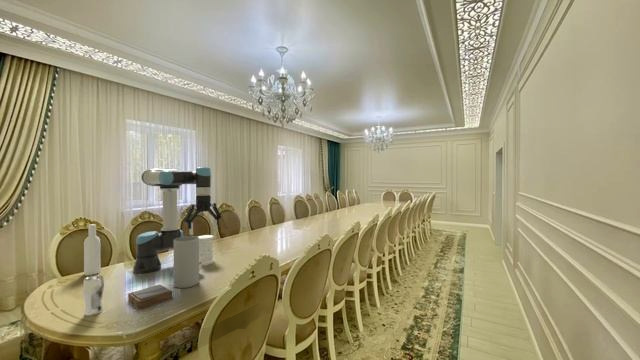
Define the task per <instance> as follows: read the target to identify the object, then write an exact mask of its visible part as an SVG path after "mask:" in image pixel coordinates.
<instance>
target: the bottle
mask: <svg viewBox="0 0 640 360" xmlns="http://www.w3.org/2000/svg"><path fill="white" fill-rule="evenodd" d="M87 229H88V236H87V237H86V238H85V240H83V241H84V242H83V275H84V274H85V275H84V276H94V275H97V273H98V274H100V273H101V269H102V267H101V266H102V265H101V238H100V236H98V235H97V224H93V223H91V224H88V227H87ZM93 274H94V275H93Z"/></svg>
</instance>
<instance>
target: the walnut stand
mask: <svg viewBox="0 0 640 360" xmlns="http://www.w3.org/2000/svg"><path fill="white" fill-rule="evenodd" d="M127 296H128V298H127V300H128V302H129V303H130V304H131V305H132V306H134V308H136V309H137V310H138V311H140V309H141V310H144V309H147V308H149V307H152V306H155V305H157V304H161V303H164V302H167V301H171V300H173V290H170V289H169V288H168V287H165V286H164V285H162V284H157V285H153V286H150V287H146V288H142V289H139V290H136V291H132V292H128V295H127Z"/></svg>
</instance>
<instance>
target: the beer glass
mask: <svg viewBox="0 0 640 360" xmlns="http://www.w3.org/2000/svg"><path fill="white" fill-rule="evenodd" d="M104 291H105V281H104V275H99V274H98V275H90V276H87V277H86V278H84V279H83V287H82V293H83V294H82V295H83V297H84V298H83V299H84V303H85V311H84V316H87V317H92V316H96V315H98V313H99V314H100V312H101V313H102V312H103V311H104V308H103V304H102V303H103V302H102V300H103V297H104V293H105V292H104ZM91 315H92V316H91Z"/></svg>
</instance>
